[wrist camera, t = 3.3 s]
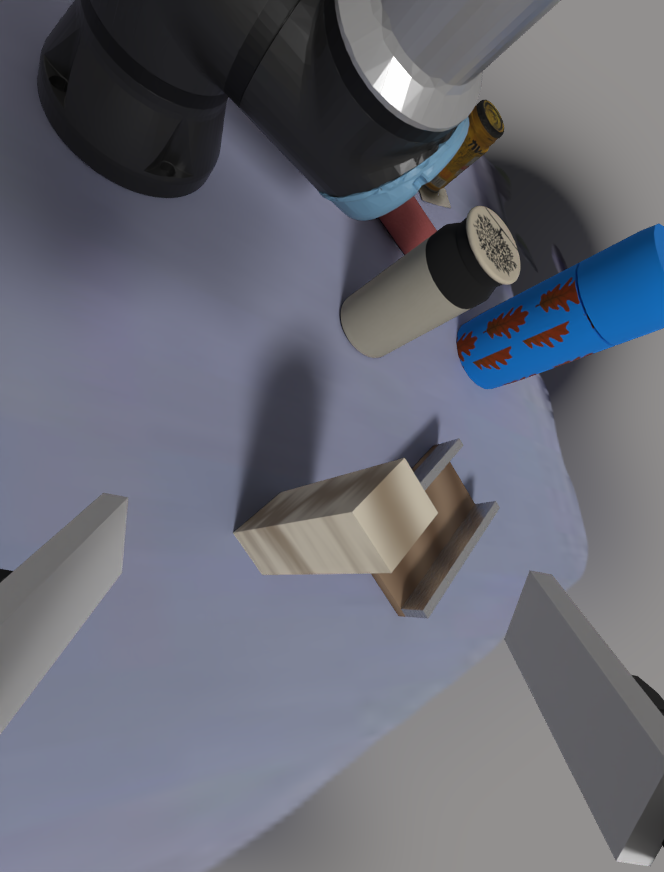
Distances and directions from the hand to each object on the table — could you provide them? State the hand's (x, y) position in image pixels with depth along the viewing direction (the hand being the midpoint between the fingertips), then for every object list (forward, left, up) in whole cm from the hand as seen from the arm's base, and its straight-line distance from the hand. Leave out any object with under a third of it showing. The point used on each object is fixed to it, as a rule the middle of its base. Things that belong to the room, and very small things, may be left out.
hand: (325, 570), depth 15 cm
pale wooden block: (-7, +10, -24) cm, 27 cm away
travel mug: (-34, +13, -25) cm, 44 cm away
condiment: (-67, +16, -25) cm, 74 cm away
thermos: (-44, +33, -25) cm, 61 cm away
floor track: (-15, +27, -24) cm, 40 cm away
